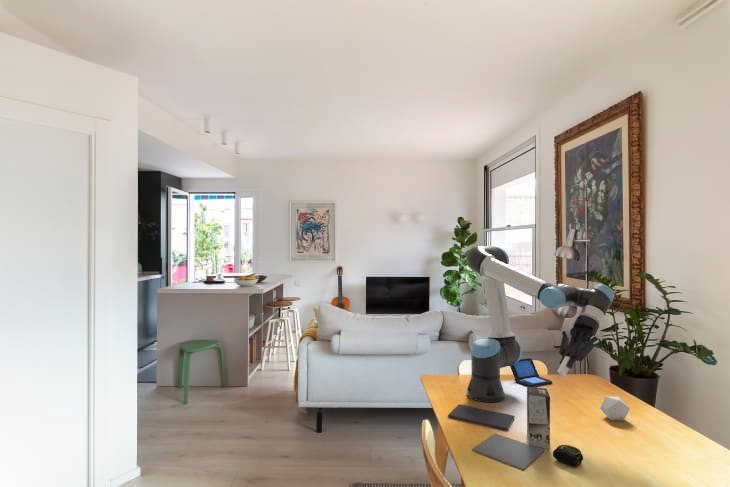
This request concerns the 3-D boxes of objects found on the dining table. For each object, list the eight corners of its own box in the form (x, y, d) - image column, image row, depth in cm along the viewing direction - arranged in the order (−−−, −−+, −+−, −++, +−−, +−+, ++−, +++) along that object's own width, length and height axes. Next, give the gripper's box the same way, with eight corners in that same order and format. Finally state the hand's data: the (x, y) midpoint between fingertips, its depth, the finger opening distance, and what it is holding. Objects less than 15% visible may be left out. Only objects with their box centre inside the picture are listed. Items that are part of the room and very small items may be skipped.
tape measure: (551, 460, 118) (551, 447, 118) (564, 454, 122) (564, 441, 122) (574, 471, 112) (574, 457, 112) (587, 464, 116) (587, 451, 116)
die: (628, 427, 142) (637, 402, 146) (605, 413, 144) (614, 389, 147) (615, 426, 150) (623, 403, 153) (593, 413, 152) (601, 390, 155)
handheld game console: (529, 388, 182) (529, 368, 182) (507, 380, 194) (507, 360, 194) (553, 384, 189) (553, 364, 189) (531, 376, 201) (531, 357, 201)
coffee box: (550, 449, 124) (550, 397, 125) (528, 446, 126) (528, 394, 127) (547, 436, 133) (547, 387, 133) (526, 433, 135) (526, 385, 135)
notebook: (447, 418, 148) (507, 432, 137) (447, 414, 148) (507, 428, 137) (458, 407, 159) (515, 420, 148) (458, 403, 159) (515, 415, 148)
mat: (471, 450, 123) (471, 448, 123) (495, 434, 134) (495, 433, 134) (523, 470, 112) (523, 468, 112) (544, 451, 123) (544, 449, 123)
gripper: (611, 330, 141) (584, 386, 132) (575, 325, 152) (548, 375, 143) (602, 316, 138) (574, 372, 129) (567, 312, 150) (539, 362, 141)
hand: (561, 374), depth 136 cm, fingers closed
